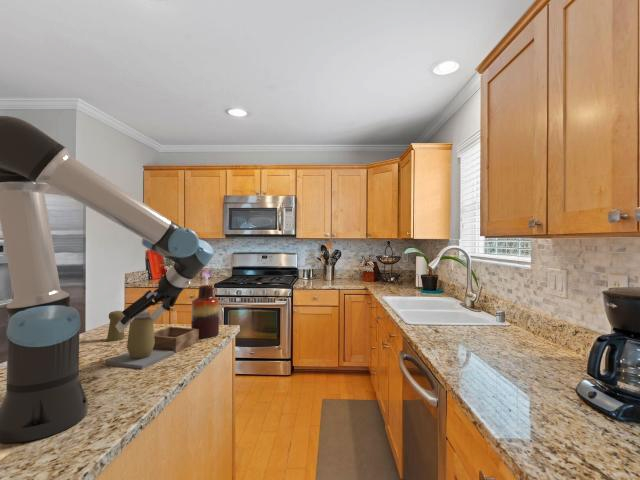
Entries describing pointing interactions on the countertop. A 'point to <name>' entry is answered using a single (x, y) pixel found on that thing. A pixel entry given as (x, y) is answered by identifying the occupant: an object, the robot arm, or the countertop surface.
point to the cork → (113, 332)
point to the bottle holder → (175, 338)
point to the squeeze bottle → (141, 336)
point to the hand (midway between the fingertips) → (135, 324)
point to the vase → (205, 313)
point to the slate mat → (139, 359)
